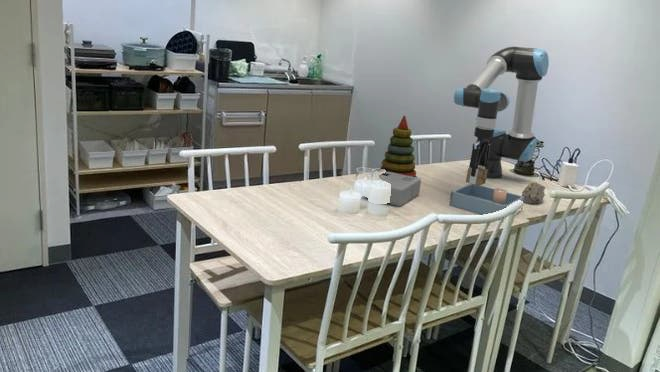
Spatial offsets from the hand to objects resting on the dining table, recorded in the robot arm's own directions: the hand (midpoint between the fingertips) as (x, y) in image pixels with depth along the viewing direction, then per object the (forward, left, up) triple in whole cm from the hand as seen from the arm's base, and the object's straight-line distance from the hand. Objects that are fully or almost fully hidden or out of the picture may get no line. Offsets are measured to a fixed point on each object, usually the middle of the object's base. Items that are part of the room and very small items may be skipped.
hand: (475, 182), depth 227 cm
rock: (-26, +17, -10) cm, 33 cm away
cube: (0, 0, 0) cm, 0 cm away
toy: (-7, -42, -10) cm, 44 cm away
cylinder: (0, +11, -9) cm, 14 cm away
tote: (0, +6, -10) cm, 11 cm away
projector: (+20, -28, -10) cm, 35 cm away
